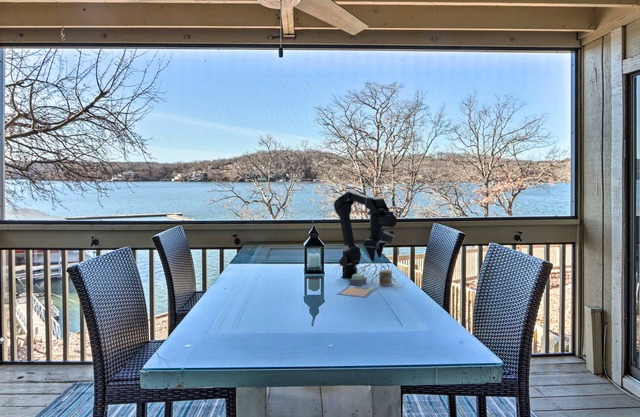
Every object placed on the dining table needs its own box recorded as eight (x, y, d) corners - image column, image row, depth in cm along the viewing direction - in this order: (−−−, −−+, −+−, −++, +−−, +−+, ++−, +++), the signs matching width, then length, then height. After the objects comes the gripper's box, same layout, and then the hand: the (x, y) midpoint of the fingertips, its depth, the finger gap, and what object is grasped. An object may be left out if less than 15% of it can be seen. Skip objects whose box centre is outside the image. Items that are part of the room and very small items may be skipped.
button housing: (349, 284, 194) (349, 279, 194) (354, 281, 199) (354, 276, 199) (362, 285, 191) (362, 280, 191) (366, 282, 197) (366, 277, 197)
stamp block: (379, 284, 193) (379, 271, 192) (382, 282, 197) (382, 269, 197) (388, 285, 191) (389, 272, 191) (391, 283, 195) (391, 270, 195)
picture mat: (336, 294, 178) (336, 293, 178) (348, 285, 191) (348, 285, 191) (365, 297, 172) (365, 297, 172) (376, 288, 186) (376, 288, 186)
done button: (352, 279, 194) (352, 275, 194) (355, 277, 198) (355, 273, 198) (361, 280, 192) (361, 276, 192) (364, 278, 196) (364, 274, 196)
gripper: (387, 228, 177) (387, 265, 179) (399, 223, 194) (399, 257, 195) (362, 227, 182) (362, 262, 184) (376, 222, 199) (376, 255, 200)
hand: (376, 259), depth 190 cm, fingers open, 9 cm apart
